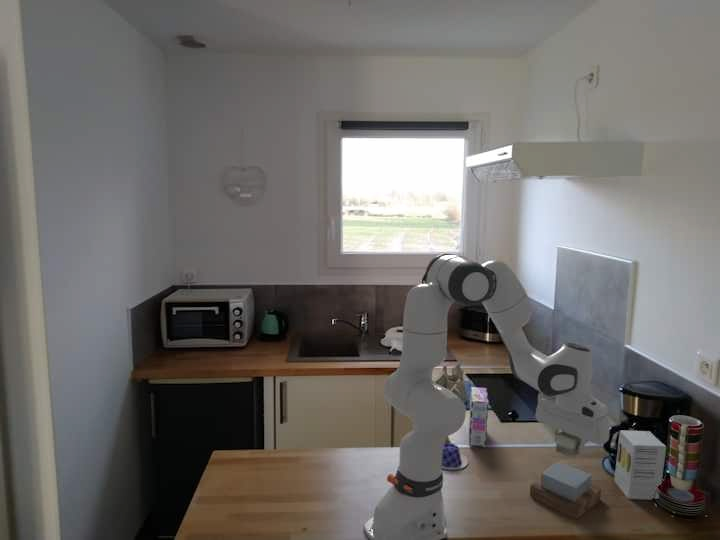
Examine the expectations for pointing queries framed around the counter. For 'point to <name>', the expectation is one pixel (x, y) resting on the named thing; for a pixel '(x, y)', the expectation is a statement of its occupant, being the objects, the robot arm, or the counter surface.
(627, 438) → the supplement box
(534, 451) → the counter surface
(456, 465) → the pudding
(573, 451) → the sage block
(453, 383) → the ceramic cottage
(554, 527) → the counter surface
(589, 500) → the walnut slab
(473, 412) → the candy box
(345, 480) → the counter surface
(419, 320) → the robot arm
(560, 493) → the grey slab
